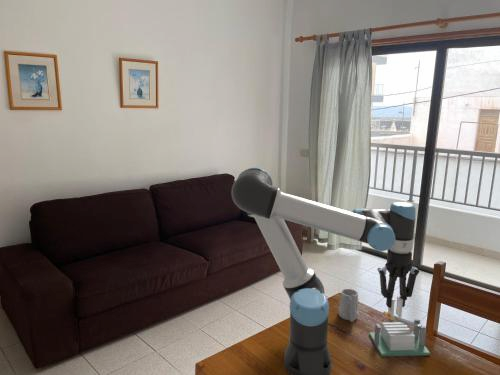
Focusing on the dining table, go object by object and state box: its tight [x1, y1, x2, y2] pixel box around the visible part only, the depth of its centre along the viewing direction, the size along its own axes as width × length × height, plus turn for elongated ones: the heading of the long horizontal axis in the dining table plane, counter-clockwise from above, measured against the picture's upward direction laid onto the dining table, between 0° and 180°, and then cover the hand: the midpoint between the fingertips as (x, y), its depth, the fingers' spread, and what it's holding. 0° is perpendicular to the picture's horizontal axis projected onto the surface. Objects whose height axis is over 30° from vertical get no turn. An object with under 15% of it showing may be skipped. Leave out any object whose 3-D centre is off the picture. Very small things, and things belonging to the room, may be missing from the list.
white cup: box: [338, 288, 360, 323], centre depth 147 cm, size 8×12×12 cm, turn 179°
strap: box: [382, 311, 423, 331], centre depth 130 cm, size 14×3×2 cm, turn 93°
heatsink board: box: [368, 318, 431, 357], centre depth 131 cm, size 16×12×8 cm
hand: (394, 315), depth 130 cm, fingers open, 2 cm apart
